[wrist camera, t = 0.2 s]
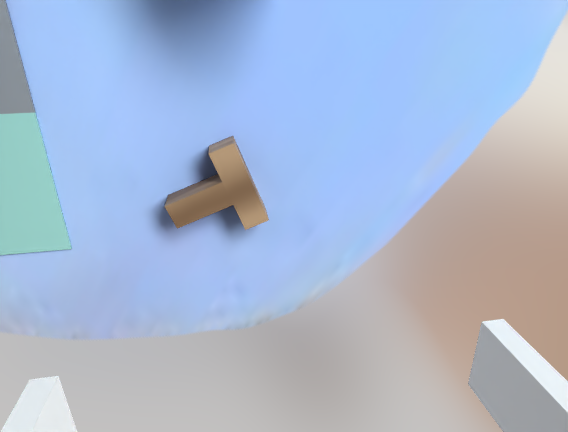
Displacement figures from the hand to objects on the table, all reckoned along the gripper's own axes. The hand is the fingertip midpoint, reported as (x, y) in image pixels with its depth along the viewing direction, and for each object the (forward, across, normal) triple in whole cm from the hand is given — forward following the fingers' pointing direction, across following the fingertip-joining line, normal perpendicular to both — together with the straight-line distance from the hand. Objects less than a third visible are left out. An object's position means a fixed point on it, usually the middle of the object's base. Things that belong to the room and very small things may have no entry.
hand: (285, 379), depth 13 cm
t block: (+28, -3, -3) cm, 28 cm away
